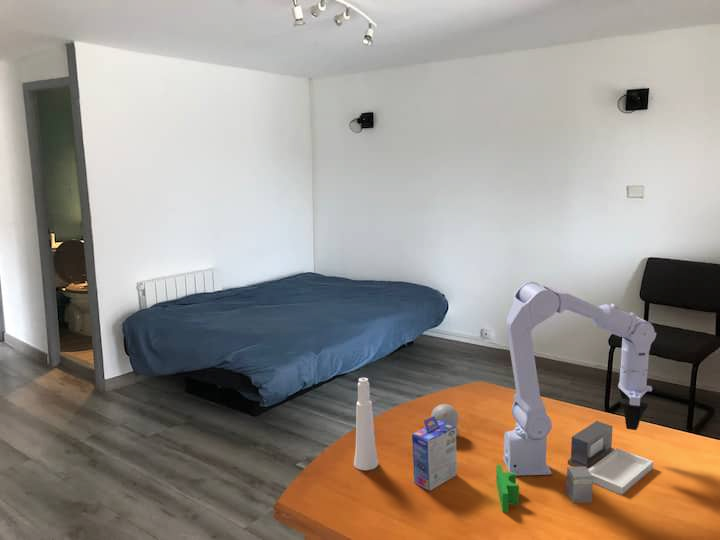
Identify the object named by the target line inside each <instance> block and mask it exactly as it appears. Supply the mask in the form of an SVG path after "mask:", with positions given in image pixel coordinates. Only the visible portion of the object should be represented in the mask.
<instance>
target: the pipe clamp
mask: <svg viewBox="0 0 720 540" xmlns="http://www.w3.org/2000/svg"><path fill="white" fill-rule="evenodd" d="M495 468H496V472H495V473H496V474H495V476H496V487H497V492H498V497H499V501H500V507H501V511H502V513H509V505H518V506H519V503H520V500H519V498H520V484H519V483H516V481H517V480H516V479H517V476H516V473H510V472H509V471H508V472H507V471H504V469H503V466H502V465H501V464H496V467H495Z"/></svg>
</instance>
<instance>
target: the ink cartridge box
mask: <svg viewBox="0 0 720 540" xmlns="http://www.w3.org/2000/svg"><path fill="white" fill-rule="evenodd" d="M432 421H434V422H435V423H433V424H432V423H431V424H429V423H430V422H432ZM423 423H424V425H425V426H424V427H423V428H422V429H419V430H418V431H415V432H413V433H412V434H411V438H412V439H411V441H412V443H411V445H412V459H413V460H412V463H413V480H414V481H413V482H414V484H417V485H418V486H420V487H421V488H423V489H425V490H426V491H429V492H430V491H432V490H434V489H435V488H437V487H439V486H440V485H442V484H444V483H445V482H447V481H449V480H451V479H452V478H454V477H456V476H458V475H457V474H458V468H457V467H458V465H457V462H458V461H457V436H456V427H455V426H453V425H450V424H448V423H446V422H443V421H440V420H439V421H437V420H436V418H435V416H433V417H431V416H430V417H429V418H427V419H424V420H423Z"/></svg>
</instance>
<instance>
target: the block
mask: <svg viewBox="0 0 720 540" xmlns="http://www.w3.org/2000/svg"><path fill="white" fill-rule="evenodd" d="M566 467H567V468H566V489H565V490H566V491H565V492H566V494H567V495H568V497H569V499H570V500H571V502H572V504H577V503H578V504H579V503H592V502H593V489H594V487H593V484H594V483H593V476H592V474H591V473H590V472H589V470H588V469H587V467H586V466H585V467H574V466H566Z"/></svg>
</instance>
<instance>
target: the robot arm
mask: <svg viewBox="0 0 720 540" xmlns="http://www.w3.org/2000/svg"><path fill="white" fill-rule="evenodd" d="M619 308H620V307H619V305H616V304H614V303H610V304H608V303H605V304H602V305H599V306H596V305H595V304H592V303H590V302H588V301H586V300H584V299H582V298H579V297H578V296H575V295H572V294H570V293H568V292H567V291H564V290H562V289H558V288H555V287H552V286H550V285H549V286H548V285H544V284H542V285H541V284H539V283H537V282H535V281H529V282H525V283H524V284H522V285H521V286H519V288H518V289H517V290H516V291H515V292H514V293H513V302H512V305H511V306H510V310H509V313H508V315H507V318H506V321H505V326H506V332H507V339H508V345H509V346H508V347H509V352H510V358H511V366H512V372H513V379H514V386H515V394H513V404H512V406H511V414H512V417H513V418H514V420H515V427H514V429H513V430H510V431H509V430H508V431H505V433H504V436H503V439H504V440H503V456H502V459H503V461H504V464H505V466H506V468H507V470H508V472H510V473H516V477H517V476H544V475H545V476H549V475H553V473H552V470H551V469H550V467H549V465H548V464H547V442H548V441H547V440H548V439H547V438H548V435H549V434H550V432H551V430H552V428H553V427H552V426H553V423H552V420H551V418H550V417H549V416H548V414H547V410H546V406H545V403H544V401H543V399H542V396H541V394H540V386H539V381H538V380H539V379H538V372H537V365H536V358H535V352H534V343H533V338H532V331H533V329H534V328H536V326H537V325H540V324H541V323H543V322H544V321H546V320H548V319H550V318H551V317H553V316H554V315H555V314H556V313H558V314H562V313H564V312H565V311H567V310H568V311H570V312H572V313H575V314H578V315H581V316H583V317H585V318H589V319H591V320H592V322H593V325H594V326H595V327H596V328H598V329H600V330H602V331H605V332H608V333H611V334H613V335H614V336H618V337H620V338H622V341H621V354H620V355H621V356H620V369H619V370H620V371H619V382H618V384H617V389H618V391H619V393H620V396H621V398H619V401H620V406H621V408H622V409H623V413H624V421H625V427H626V429H627V430H631V431H632V430H633V431H637V430H638V428H639V424H640V421H641V418H642V416H643V414H644V412H645V411H646V410H647V409H648V406H649V405H648V403H647V402H643V401H641V398H642V397H643V396H644V395H645V393H647V392H652V391H653V387H652V386H651V385H647V383H648V382H647V381H648V371H649V369H648V368H649V357H650V356H649V355H650V351H651V345H652V343H654V341H655V339H656V338H657V337H656V336H657V332H656V331H655V327H654V326H653V324H652V323H651V322H649V321H647V320H645V319H643V318H641V317H639V316H637V314H636V313H634V312H627V311H624V310H621V309H619Z"/></svg>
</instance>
